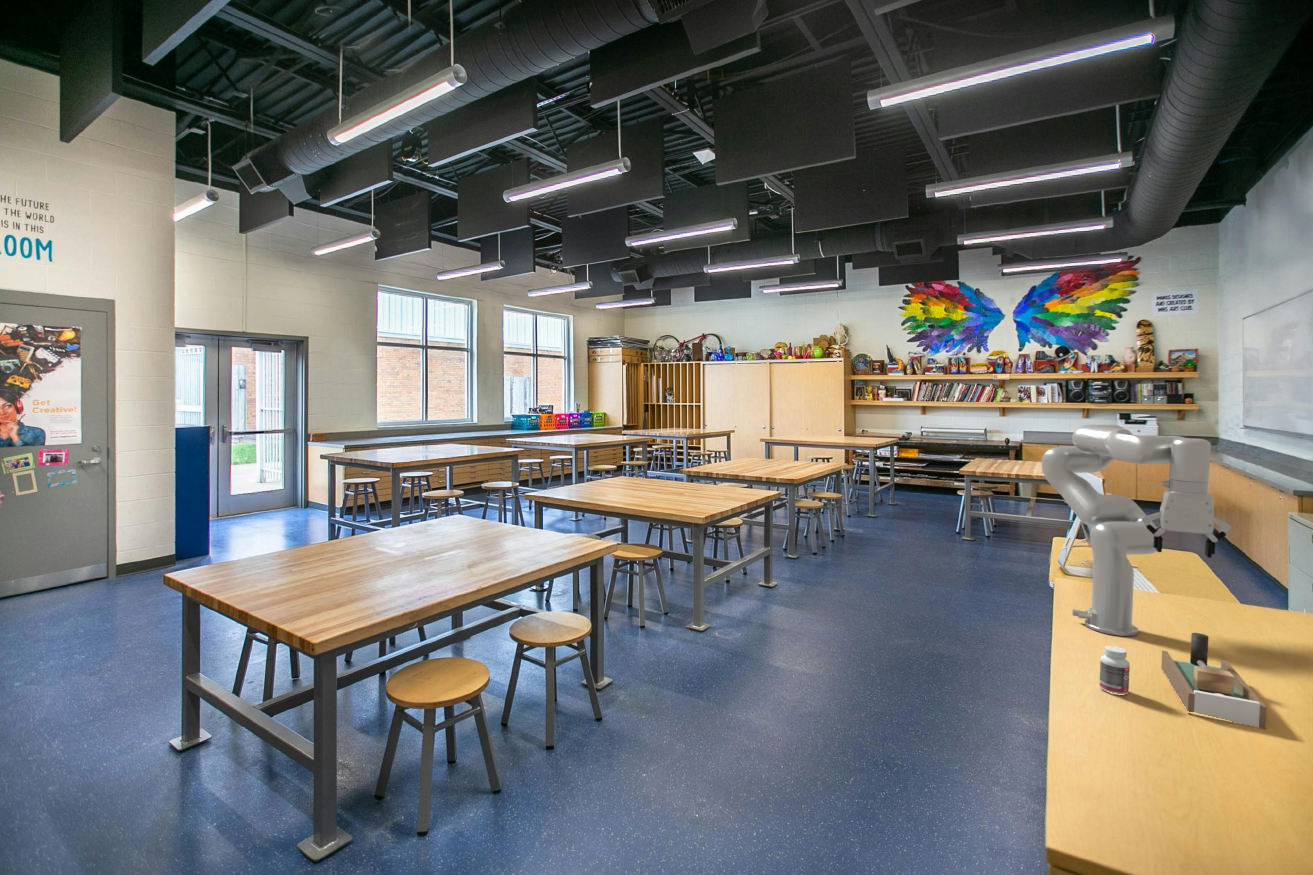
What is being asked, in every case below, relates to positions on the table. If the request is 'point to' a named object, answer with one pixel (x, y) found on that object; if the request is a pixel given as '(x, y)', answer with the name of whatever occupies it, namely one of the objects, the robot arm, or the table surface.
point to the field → (1228, 707)
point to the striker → (1203, 674)
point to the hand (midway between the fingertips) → (1182, 553)
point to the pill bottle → (1114, 670)
